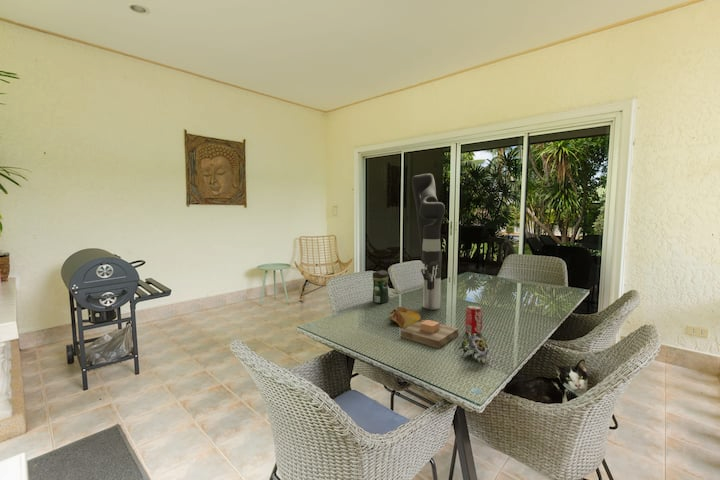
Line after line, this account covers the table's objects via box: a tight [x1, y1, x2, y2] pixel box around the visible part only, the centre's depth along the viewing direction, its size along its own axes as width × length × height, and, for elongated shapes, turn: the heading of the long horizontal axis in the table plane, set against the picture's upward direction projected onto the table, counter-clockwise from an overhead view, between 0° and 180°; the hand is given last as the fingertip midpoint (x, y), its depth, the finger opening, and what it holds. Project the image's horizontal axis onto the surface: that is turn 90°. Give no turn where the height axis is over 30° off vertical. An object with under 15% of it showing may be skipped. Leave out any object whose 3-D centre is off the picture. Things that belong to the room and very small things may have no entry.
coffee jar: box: [372, 269, 390, 304], centre depth 201 cm, size 10×8×19 cm
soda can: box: [464, 304, 483, 336], centre depth 151 cm, size 7×7×12 cm
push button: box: [420, 319, 440, 333], centre depth 148 cm, size 6×6×4 cm
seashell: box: [388, 306, 422, 329], centre depth 167 cm, size 17×8×15 cm
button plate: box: [400, 319, 459, 349], centre depth 148 cm, size 18×18×3 cm
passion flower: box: [458, 332, 489, 364], centre depth 126 cm, size 11×11×12 cm
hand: (430, 289), depth 146 cm, fingers closed
